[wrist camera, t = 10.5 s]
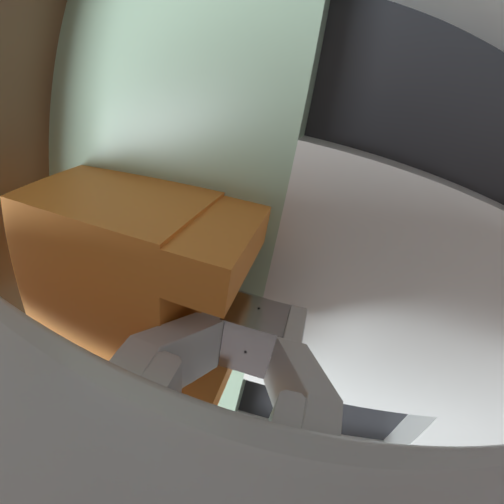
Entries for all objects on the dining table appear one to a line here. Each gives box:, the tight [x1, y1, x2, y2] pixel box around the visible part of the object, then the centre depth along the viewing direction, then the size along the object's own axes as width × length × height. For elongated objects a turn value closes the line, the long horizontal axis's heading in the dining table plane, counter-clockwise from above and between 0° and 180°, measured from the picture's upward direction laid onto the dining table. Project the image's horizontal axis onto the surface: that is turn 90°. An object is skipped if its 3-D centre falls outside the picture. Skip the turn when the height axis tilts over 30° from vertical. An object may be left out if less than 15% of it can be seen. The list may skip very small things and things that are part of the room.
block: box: [0, 165, 271, 406], centre depth 9 cm, size 6×8×4 cm
